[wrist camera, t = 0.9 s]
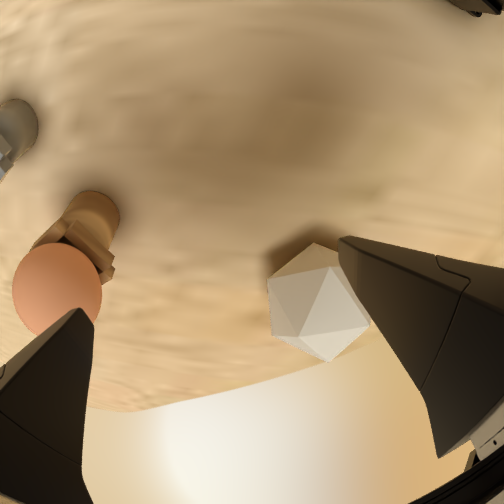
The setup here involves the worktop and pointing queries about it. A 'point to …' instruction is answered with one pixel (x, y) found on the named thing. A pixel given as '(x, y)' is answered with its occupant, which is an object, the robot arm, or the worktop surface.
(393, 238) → the worktop surface
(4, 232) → the worktop surface
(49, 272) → the peach ball
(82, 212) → the oak cup
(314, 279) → the die
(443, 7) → the worktop surface
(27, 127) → the slate cup
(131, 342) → the worktop surface
